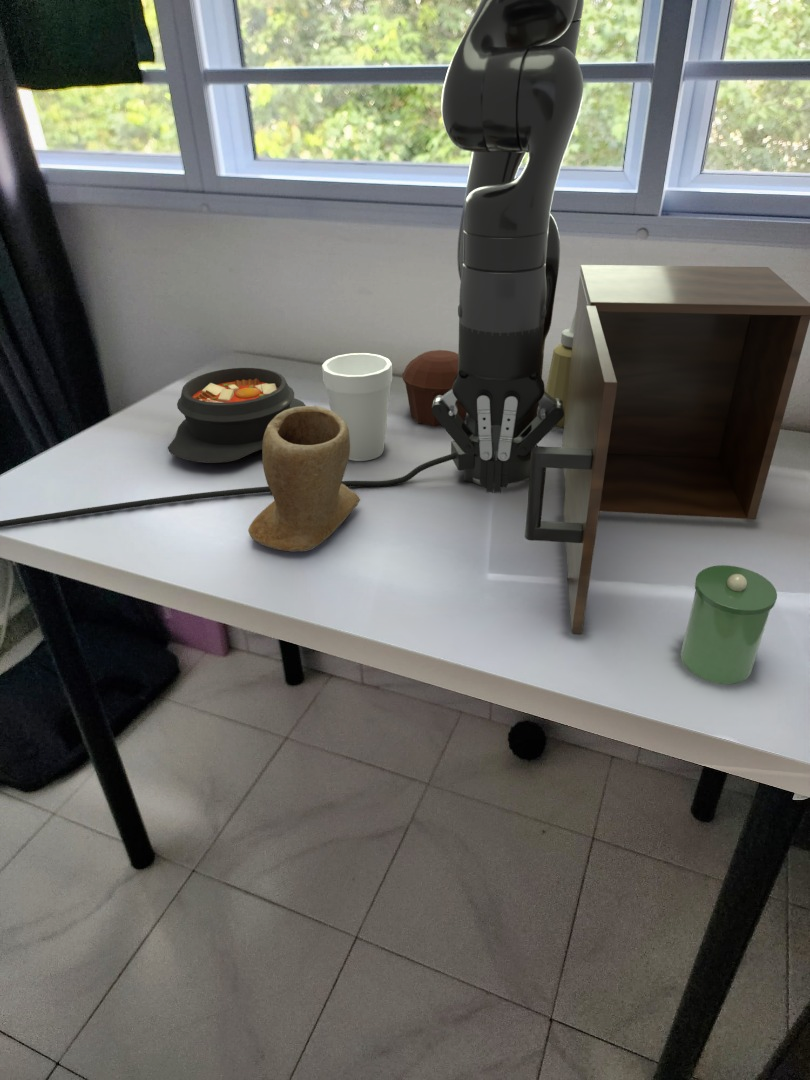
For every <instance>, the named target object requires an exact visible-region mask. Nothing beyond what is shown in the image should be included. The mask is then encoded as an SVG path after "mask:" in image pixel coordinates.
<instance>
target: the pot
mask: <svg viewBox="0 0 810 1080" xmlns="http://www.w3.org/2000/svg"><path fill="white" fill-rule="evenodd" d="M694 589H695V591H694V596H693V599H692V603H691V609H690V613H689V617H688V619H687V625H686V630H685V632H684V633H685V634H684V638H683V642H682V646H681V650H680V659H681V661H682V663H683V665H684V666H685V668H687V670H688V671H690V672H691V673H692V674H694V675H695V676H697V677H698V678H700V679H703V680H705V681H708V682H710V683H714V684H720V685H733V684H738V683H742V682H744V681H745V680H747V679H748V678H749V677H750V676H751V674H752V671H753V668H754V664H755V662H756V659H757V654H758V652H759V649H760V645H761V643H762V638H763V635H764V632H765V629H766V625H767V622H768V619H769V616H770V612H771V610H772V609H773V608H774V607H775V604H776V602H777V599H778V592H777V590H776V587H775V585H773V583H772V582H771V581H770V580H769V579H767V578H766V577H764V576H763V575H761V574H759V573H757V572H755V571H753V570H750V569H748V568H744V567H740V566H735V565H726V564H725V565H724V564H723V565H713V566H709V567H706V568H704V569H702V570H701V571H700V572H698V574H697V575H696V578H695V581H694Z"/></svg>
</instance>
